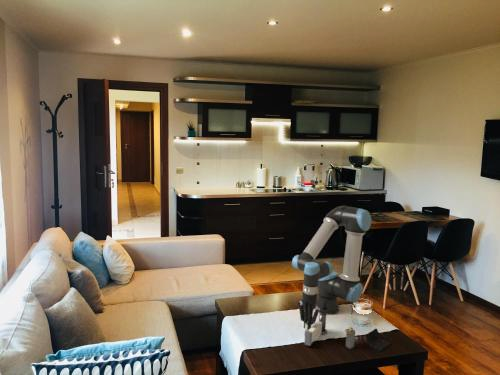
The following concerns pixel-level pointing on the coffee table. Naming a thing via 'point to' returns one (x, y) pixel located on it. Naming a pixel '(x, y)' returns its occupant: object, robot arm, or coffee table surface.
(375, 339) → the black angled block
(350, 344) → the stile post
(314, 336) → the gate
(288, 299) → the coffee table surface
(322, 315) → the hinge post
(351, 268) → the robot arm
